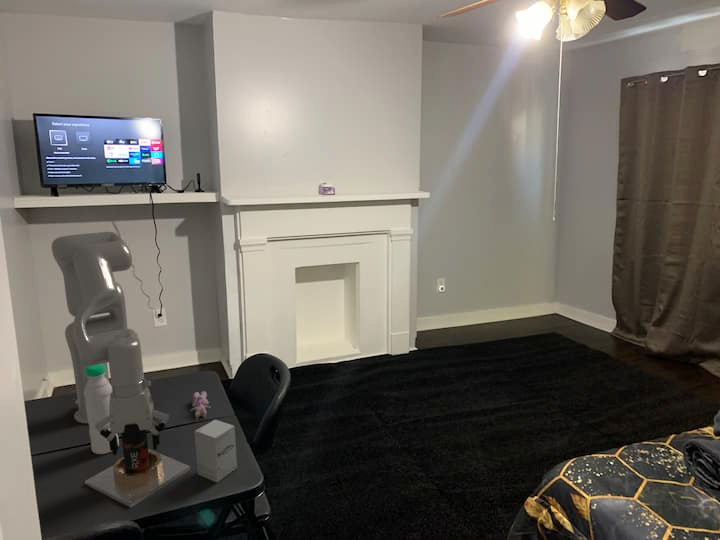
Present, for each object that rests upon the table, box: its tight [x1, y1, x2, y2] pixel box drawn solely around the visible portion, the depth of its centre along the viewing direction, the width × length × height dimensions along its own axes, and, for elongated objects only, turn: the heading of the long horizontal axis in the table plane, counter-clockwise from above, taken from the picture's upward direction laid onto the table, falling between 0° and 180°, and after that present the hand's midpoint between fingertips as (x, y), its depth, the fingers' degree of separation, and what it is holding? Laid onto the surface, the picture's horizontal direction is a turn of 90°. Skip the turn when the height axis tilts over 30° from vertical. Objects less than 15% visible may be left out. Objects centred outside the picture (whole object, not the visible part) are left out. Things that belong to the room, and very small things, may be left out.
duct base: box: [84, 448, 191, 508], centre depth 141 cm, size 18×18×4 cm
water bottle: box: [84, 364, 120, 455], centre depth 152 cm, size 7×7×25 cm
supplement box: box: [194, 419, 238, 483], centre depth 142 cm, size 7×7×13 cm
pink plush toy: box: [189, 390, 211, 420], centre depth 176 cm, size 6×6×15 cm
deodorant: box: [120, 424, 150, 474], centre depth 139 cm, size 6×6×15 cm
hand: (135, 449), depth 139 cm, fingers open, 9 cm apart
